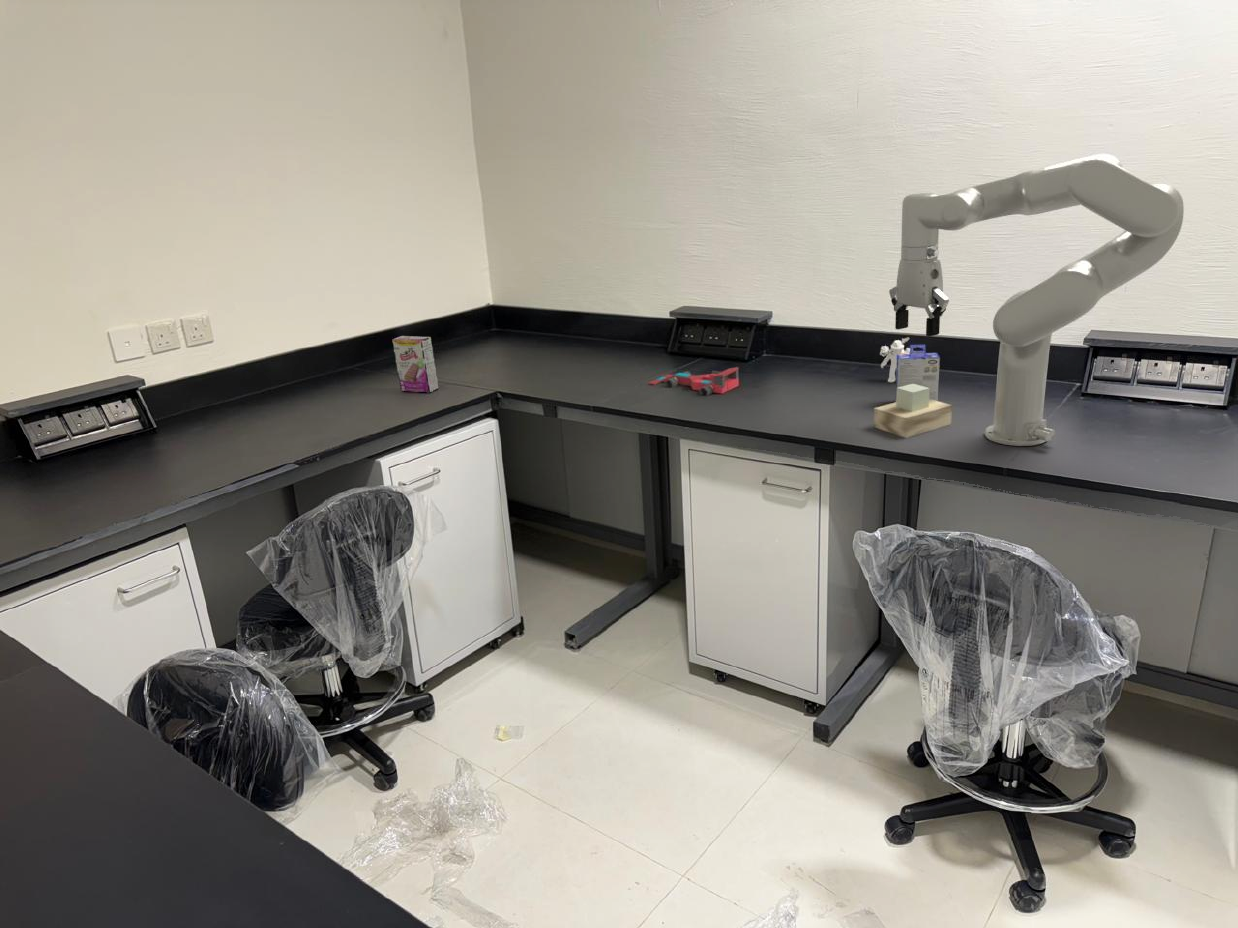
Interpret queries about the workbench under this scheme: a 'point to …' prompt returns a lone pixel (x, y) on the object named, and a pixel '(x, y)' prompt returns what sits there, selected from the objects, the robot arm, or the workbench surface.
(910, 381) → the ink cartridge box
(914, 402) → the sage cube
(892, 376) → the hat wearing toy figure
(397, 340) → the candy bar box
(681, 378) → the race car
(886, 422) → the maple block
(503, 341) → the workbench surface
